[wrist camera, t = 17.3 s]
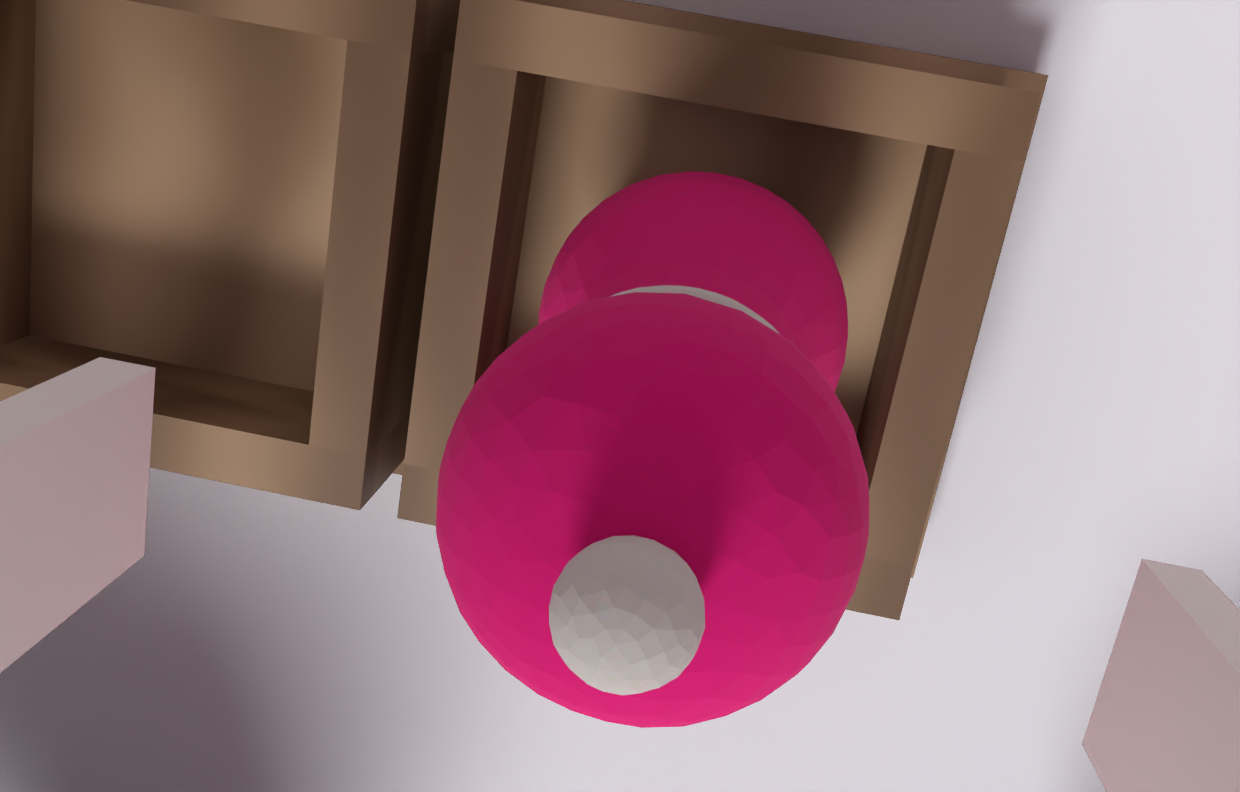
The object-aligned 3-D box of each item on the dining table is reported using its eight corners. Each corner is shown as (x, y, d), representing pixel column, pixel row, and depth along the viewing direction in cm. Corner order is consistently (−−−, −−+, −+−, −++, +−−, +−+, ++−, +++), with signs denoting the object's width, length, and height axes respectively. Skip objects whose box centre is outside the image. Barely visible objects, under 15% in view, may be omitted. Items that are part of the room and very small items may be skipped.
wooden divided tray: (-20, 370, 36) (-151, 423, 31) (-17, -110, 32) (-168, -144, 27) (906, 556, 34) (933, 645, 29) (1034, 74, 30) (1093, 77, 25)
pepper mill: (618, 118, 30) (387, 213, 11) (878, 211, 30) (1093, 467, 11) (535, 368, 32) (222, 805, 13) (777, 456, 32) (812, 1023, 13)
